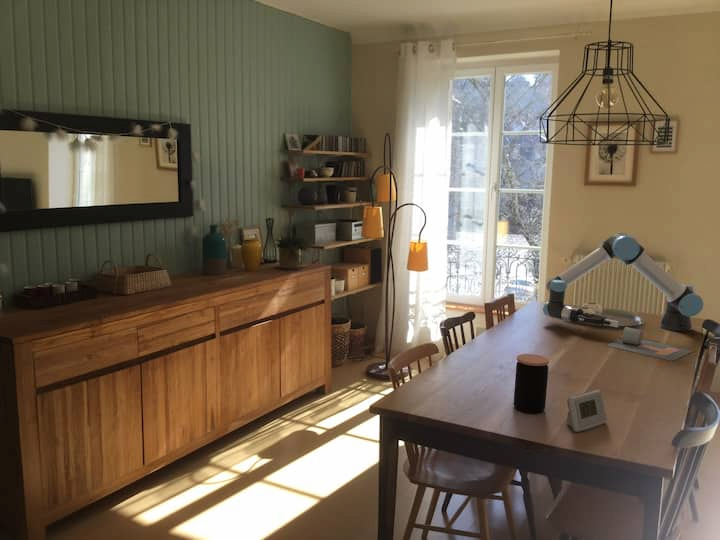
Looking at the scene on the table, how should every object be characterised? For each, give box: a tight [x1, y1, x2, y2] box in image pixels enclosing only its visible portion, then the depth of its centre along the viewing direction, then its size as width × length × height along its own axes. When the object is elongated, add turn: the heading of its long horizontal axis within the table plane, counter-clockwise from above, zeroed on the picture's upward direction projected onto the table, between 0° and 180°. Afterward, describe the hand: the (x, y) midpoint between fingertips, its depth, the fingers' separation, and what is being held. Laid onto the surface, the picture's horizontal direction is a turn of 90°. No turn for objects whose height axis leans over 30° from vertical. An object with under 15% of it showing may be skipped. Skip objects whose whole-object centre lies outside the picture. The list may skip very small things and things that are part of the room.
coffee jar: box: [512, 353, 550, 415], centre depth 225 cm, size 11×11×18 cm
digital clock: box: [566, 389, 608, 433], centre depth 213 cm, size 16×9×11 cm, turn 113°
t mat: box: [606, 339, 694, 362], centre depth 305 cm, size 24×30×1 cm
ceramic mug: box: [621, 326, 644, 345], centre depth 312 cm, size 11×8×8 cm
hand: (617, 324), depth 316 cm, fingers closed
